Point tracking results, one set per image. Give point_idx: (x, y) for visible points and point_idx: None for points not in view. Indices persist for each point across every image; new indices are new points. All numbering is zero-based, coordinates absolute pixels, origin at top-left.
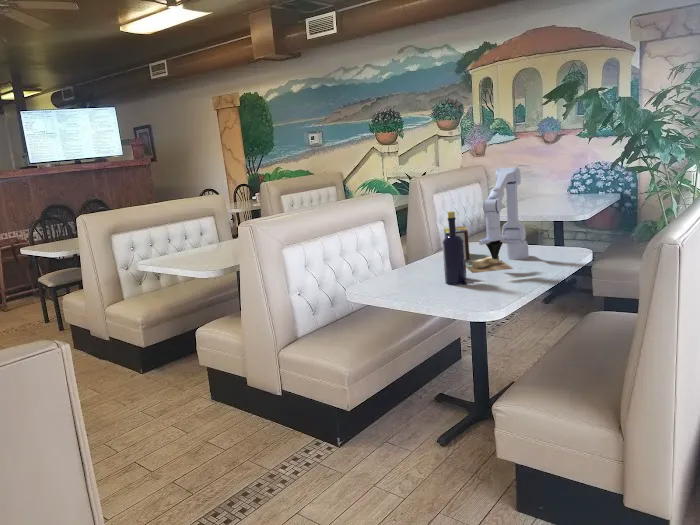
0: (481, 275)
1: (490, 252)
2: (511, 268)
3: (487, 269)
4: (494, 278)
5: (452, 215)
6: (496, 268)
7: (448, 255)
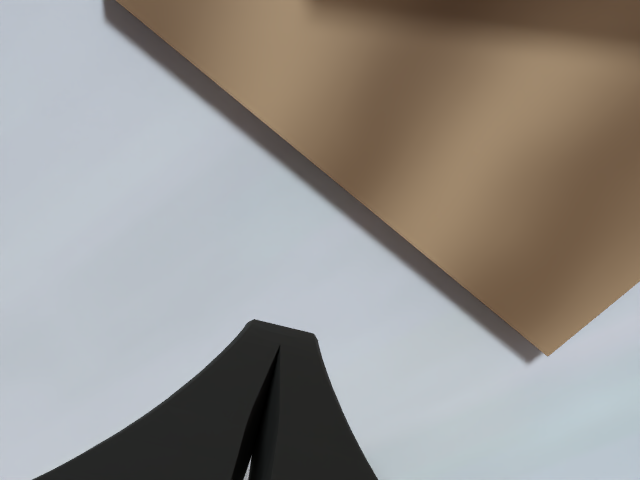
0: (181, 92)
1: (186, 389)
2: (540, 336)
3: (378, 57)
4: (151, 320)
5: None
6: (483, 153)
7: None
